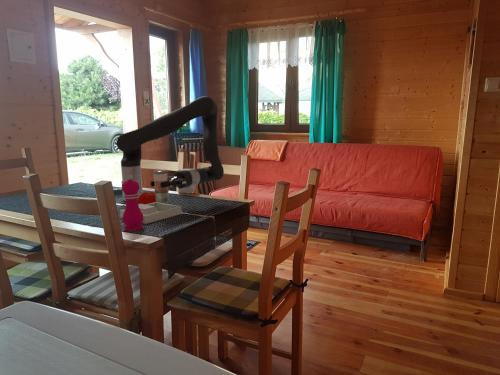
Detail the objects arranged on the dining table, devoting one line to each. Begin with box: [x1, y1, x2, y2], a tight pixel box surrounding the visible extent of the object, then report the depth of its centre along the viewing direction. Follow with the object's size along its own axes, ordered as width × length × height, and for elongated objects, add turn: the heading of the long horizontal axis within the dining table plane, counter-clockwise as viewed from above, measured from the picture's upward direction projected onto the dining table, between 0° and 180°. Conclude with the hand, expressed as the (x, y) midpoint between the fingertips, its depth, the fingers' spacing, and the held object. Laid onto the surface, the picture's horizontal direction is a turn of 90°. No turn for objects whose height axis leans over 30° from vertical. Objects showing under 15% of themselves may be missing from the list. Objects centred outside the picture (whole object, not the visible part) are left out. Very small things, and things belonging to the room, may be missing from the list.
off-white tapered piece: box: [138, 204, 157, 215], centre depth 146 cm, size 10×6×5 cm, turn 53°
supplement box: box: [177, 168, 196, 194], centre depth 203 cm, size 7×7×13 cm
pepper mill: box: [121, 176, 144, 232], centre depth 131 cm, size 7×7×20 cm
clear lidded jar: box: [152, 169, 170, 203], centre depth 150 cm, size 6×6×12 cm
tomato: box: [138, 191, 164, 205], centre depth 170 cm, size 10×11×6 cm
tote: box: [119, 202, 183, 225], centre depth 150 cm, size 16×18×4 cm
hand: (156, 184), depth 148 cm, fingers closed on clear lidded jar, 5 cm apart
